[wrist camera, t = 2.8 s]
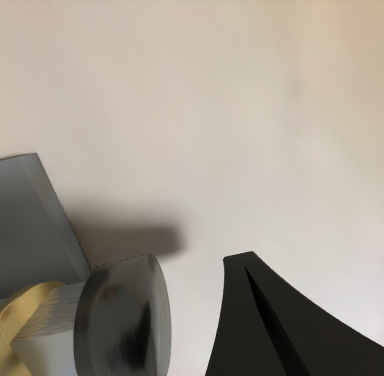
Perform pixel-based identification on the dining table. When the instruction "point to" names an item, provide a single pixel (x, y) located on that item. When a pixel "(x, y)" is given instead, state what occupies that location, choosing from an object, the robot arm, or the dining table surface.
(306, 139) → the dining table surface
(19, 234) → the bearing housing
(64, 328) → the shaft
